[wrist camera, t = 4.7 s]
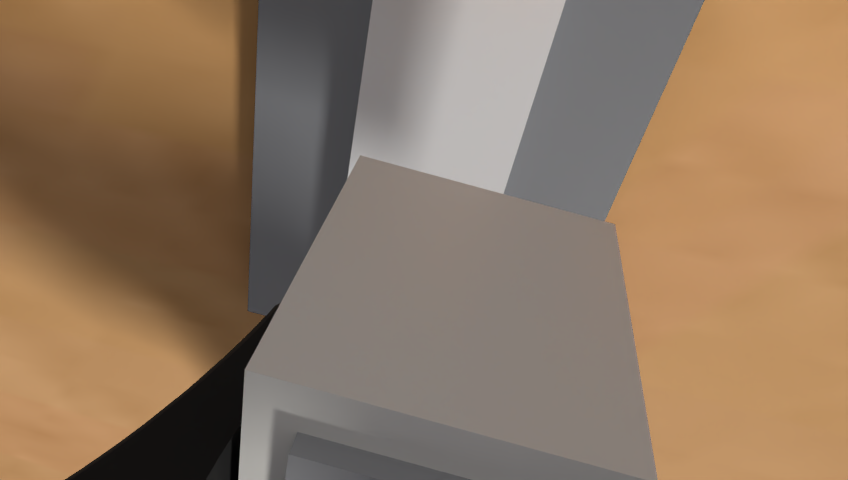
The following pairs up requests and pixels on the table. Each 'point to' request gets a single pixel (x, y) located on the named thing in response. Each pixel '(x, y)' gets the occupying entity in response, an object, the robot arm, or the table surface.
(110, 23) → the table surface
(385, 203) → the block
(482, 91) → the rail board
